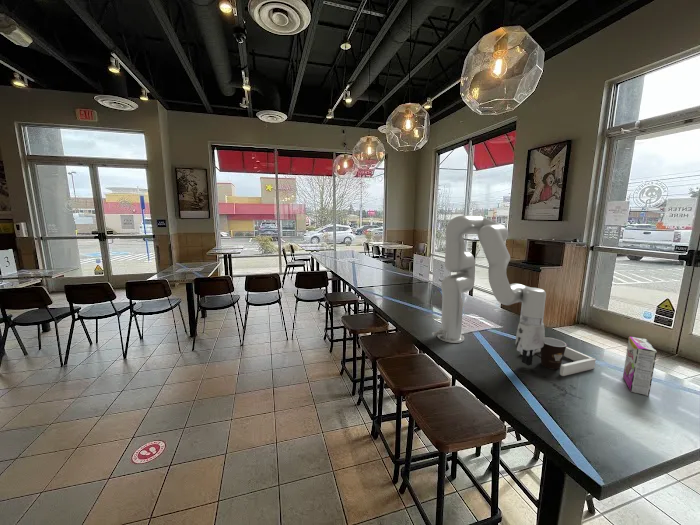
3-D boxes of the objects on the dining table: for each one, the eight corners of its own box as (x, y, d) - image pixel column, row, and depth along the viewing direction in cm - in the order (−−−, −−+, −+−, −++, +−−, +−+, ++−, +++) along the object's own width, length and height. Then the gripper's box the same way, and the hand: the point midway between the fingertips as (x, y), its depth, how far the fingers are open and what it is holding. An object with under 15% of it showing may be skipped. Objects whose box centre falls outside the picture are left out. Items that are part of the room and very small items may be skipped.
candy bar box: (621, 377, 109) (628, 335, 107) (639, 381, 107) (647, 338, 104) (629, 392, 100) (637, 347, 97) (649, 397, 97) (658, 351, 95)
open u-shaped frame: (562, 376, 110) (564, 366, 109) (520, 354, 127) (521, 345, 126) (594, 368, 115) (595, 359, 114) (549, 348, 132) (550, 340, 132)
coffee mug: (561, 362, 119) (564, 339, 118) (565, 372, 112) (568, 348, 110) (528, 356, 125) (530, 334, 123) (530, 366, 117) (533, 342, 115)
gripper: (525, 325, 107) (520, 371, 110) (555, 320, 111) (549, 365, 114) (508, 318, 114) (504, 362, 117) (537, 314, 118) (532, 356, 121)
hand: (526, 363), depth 116 cm, fingers closed
